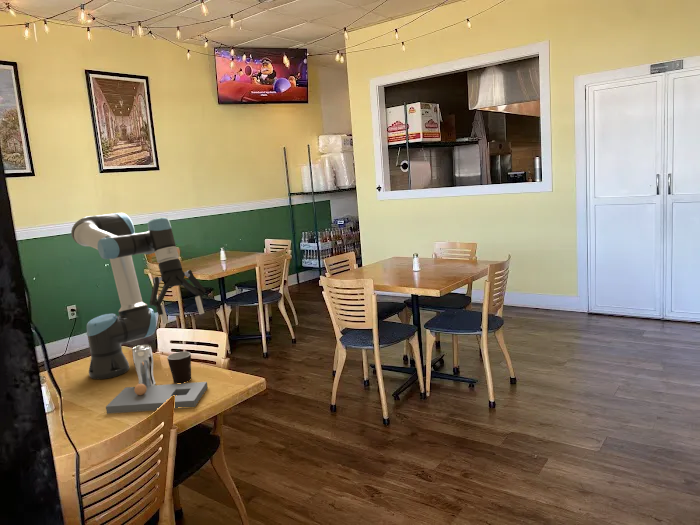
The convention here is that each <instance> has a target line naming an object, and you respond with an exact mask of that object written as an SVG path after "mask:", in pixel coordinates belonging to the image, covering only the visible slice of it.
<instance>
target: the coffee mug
mask: <svg viewBox="0 0 700 525" xmlns="http://www.w3.org/2000/svg"><path fill="white" fill-rule="evenodd" d="M166 359H167V363H168V366H169V369H170V373H171V376H172V379H173V380H172V381H173V384H176V383H181V384H182V383H184V382H186V383H188V382H190V381H191V380H192V353H191V352H190V351H177V352H174V353H171V354H169V355H168V356H167V358H166ZM190 379H191V380H190ZM189 380H190V381H189ZM187 381H188V382H187Z"/></svg>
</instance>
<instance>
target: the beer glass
mask: <svg viewBox="0 0 700 525" xmlns="http://www.w3.org/2000/svg"><path fill="white" fill-rule="evenodd" d="M151 346H152V345H151V344H150V345H149V344H141V345H137V346H134V347H132V349H131V353H132V362H133V364H134V368H135V371H136V374H137V377H138V384H144V385H145V386H153V385H156V384H157V382H156V380H155V377H154V357H153V356H154V355H153V350H152V347H151Z"/></svg>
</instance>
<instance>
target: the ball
mask: <svg viewBox="0 0 700 525" xmlns="http://www.w3.org/2000/svg"><path fill="white" fill-rule="evenodd" d="M134 387H135V389H134V391H135V393H136V394H137V395H143V394H145V393H146V390H147V388H146V386H145V385H144V384H139V383H137V384H136V385H135V386H134Z"/></svg>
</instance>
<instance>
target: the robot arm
mask: <svg viewBox="0 0 700 525" xmlns="http://www.w3.org/2000/svg"><path fill="white" fill-rule="evenodd" d="M135 230H136V229H135V226H134V224H133V221H132V219H131V217H129V215H128V214H126V213H124V212H113V213H105V214H98V215H89V216H85V217H84V216H83V217H82V218H80V219H78V220H77V221H75V223H74V224H73V225H72V228H71V233H70V235H71V238H72V240H73V241H74V242H75V243H77V245H80V246H82V247H91V248H93V249H94V250H95V249H96V250H97V251H98V254H99V256H100V258H101V259H103V260H109V262H110V265H111V269H112V270H111V271H112V274H113V278H114V282H115V287H116V291H117V294H118V299H119V302H120V308H119V310H118V315H117V314H116V313H105V314H101V315H98V316H96V317H94V318H92V319H90V320H89V321H88V322H87V323H86V336H87V339H88V340H87V341H88V346H89V352H90V356H91V357H90V363H89V370H88V375H89V376H88V377H89V378H90V379H93V380H105V379H111V378H115V377H118V376H121V375H123V374H125V373H127V372H128V371H129V370H130V362H129V360H128V359H127V357H126V355H125V354H124V352H123V349H122V348H123V347H122V345H124V344H126V343H131V342H134V341H139V340H142V339H145V338H148V337H150V336H152V335H154V334H155V332H156V330H157V316H156V313H155V311H154V309H153V308H150V307H149V306H153V307H155V308H156V311H157V315H158V316H161V321H162V323H163V325H166V324H169V319H168V316H167V313H166V308H165V305H164V304H162V303H163V300H164V299H165V296H166V294H167V292H168V290H169V288H173V287H178V286H182V287H184V288H185V289H187V290H188V291H189V292H191V293H192V294H193V295H195V297H194V300H195V303H196V307H197V308H196V309H197V311H198V314H199V315H203V314H205V311H204V310H205V309H204V307H203V304H204V303H205V302H204V298H203V295H204V294H205V293H206V292H207V290H206V288H204V286H203V285H202V283H201V282H200V281H199V280H198V279H197V278H196V276H194V273H193V271H192V269H189V270H187V271H185V272H184V271H183V266H182V263H181V259H179V258H180V256H179V252H178V248H177V244H176V242H175V237H174V233H173V230H172V226H171V222H170V220H169V218H167V217H157V218H156V217H155V218H153V219H152V218H151V219H150V220H149V221H147V230H148V231H144V232H135ZM142 254H145V255H152V254H155V259H156V261H157V262H156V263H158V269H159V272H160V273H159V274H160V276H155V277H154V278H152V282H153V285H152V290H151V295H150V299H149V306H148V304H147V303H145V302H144V301H143V298H142V294H141V290H140V287H139V286H140V285H139V281H138V277H137V273H136V269H135V265H134V261H133V260H134V259H133V256H135V255H136V256H137V255H142ZM185 277H186V278H188V280H189V281H190V282H191V284H190V283H189V282H188V280H186V278H185ZM161 282H162V283H164V284H163V286H162V289H161V291H160V293H159V295H158V292H159V287H160V283H161Z"/></svg>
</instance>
